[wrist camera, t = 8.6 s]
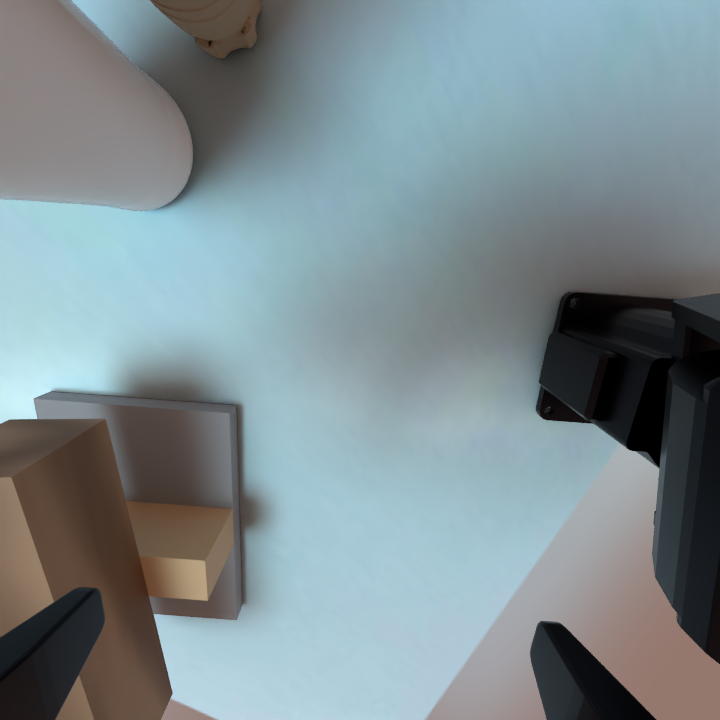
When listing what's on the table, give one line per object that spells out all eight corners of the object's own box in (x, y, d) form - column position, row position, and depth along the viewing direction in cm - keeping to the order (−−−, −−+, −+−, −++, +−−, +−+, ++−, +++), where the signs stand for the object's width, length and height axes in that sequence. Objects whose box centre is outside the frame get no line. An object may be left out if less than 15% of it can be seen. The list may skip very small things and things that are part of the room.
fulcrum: (236, 405, 19) (197, 449, 15) (242, 604, 23) (213, 685, 19) (50, 391, 19) (-43, 431, 15) (87, 593, 23) (23, 671, 19)
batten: (105, 418, 14) (11, 477, 11) (172, 693, 19) (122, 804, 15) (9, 419, 15) (-118, 478, 11) (98, 692, 19) (31, 802, 15)
